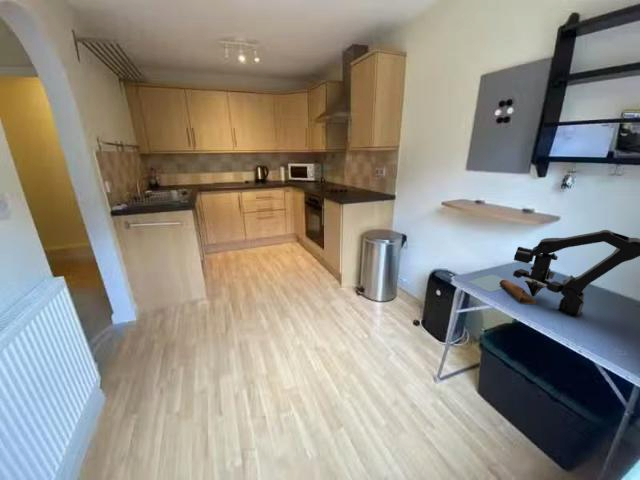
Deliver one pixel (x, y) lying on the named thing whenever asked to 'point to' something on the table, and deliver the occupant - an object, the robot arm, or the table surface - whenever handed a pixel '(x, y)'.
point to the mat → (488, 283)
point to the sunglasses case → (517, 292)
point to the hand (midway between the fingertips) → (533, 296)
